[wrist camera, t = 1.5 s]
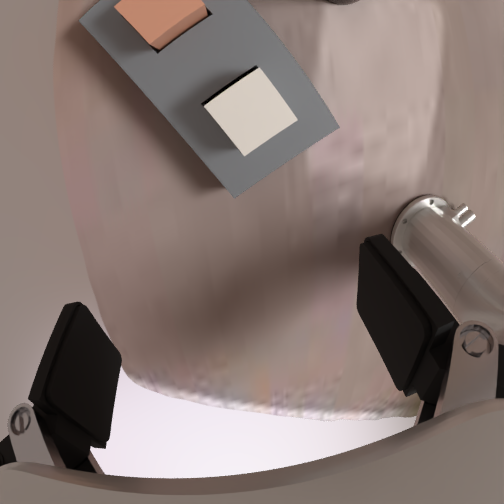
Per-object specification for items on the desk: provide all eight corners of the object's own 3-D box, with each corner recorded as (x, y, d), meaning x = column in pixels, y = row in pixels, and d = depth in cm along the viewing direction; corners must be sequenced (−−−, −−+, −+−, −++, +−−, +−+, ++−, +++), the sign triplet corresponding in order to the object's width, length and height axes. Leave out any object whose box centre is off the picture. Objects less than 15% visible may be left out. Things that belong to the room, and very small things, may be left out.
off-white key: (253, 70, 26) (259, 67, 21) (286, 114, 29) (297, 119, 24) (207, 103, 27) (203, 106, 23) (241, 146, 30) (244, 156, 26)
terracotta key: (175, -17, 19) (166, -33, 15) (207, 16, 22) (205, 4, 18) (129, 16, 20) (113, 6, 16) (161, 50, 23) (149, 44, 19)
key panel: (188, -46, 18) (184, -59, 15) (327, 122, 32) (339, 127, 28) (92, 25, 22) (78, 20, 18) (233, 186, 35) (234, 198, 32)
